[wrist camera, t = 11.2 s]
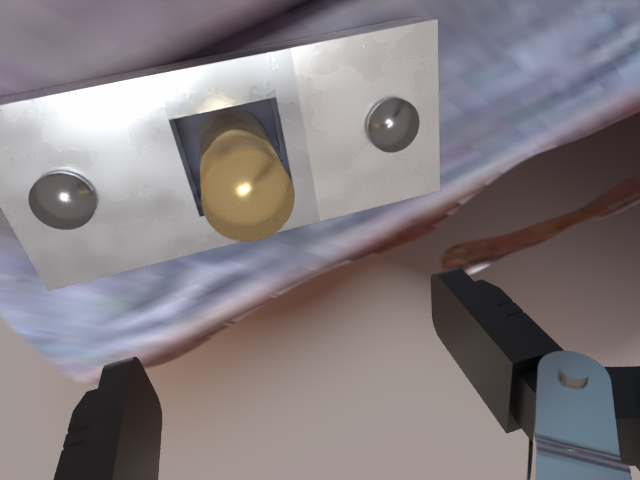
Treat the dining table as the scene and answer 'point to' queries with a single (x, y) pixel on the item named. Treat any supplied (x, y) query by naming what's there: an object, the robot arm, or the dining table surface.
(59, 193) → the studded base plate
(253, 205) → the brass pin
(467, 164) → the dining table surface
